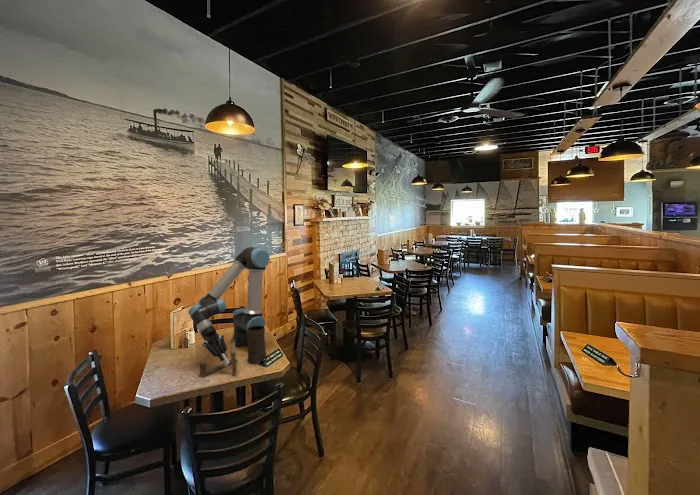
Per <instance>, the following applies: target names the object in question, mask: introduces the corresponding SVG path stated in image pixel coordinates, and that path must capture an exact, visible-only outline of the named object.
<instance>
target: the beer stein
mask: <svg viewBox="0 0 700 495" xmlns="http://www.w3.org/2000/svg"><path fill="white" fill-rule="evenodd" d="M265 331H266V329H265V326H264V327H263V326H252V327H249V328H248V330H247V333H248V346H247V362H248V363H249V364H253V365H255V364H256V365H257V364H261V363H260V362H261V361H262V360H263V359H265V358H266V359H267V352H266V341H265Z"/></svg>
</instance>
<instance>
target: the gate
mask: <svg viewBox="0 0 700 495" xmlns="http://www.w3.org/2000/svg"><path fill="white" fill-rule="evenodd" d="M236 354H237V353H236V346H235V342H231V341H230V356H231V355H232V364H231V374H237V362H236V360H237V358H236V356H237V355H236Z"/></svg>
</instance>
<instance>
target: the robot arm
mask: <svg viewBox="0 0 700 495" xmlns="http://www.w3.org/2000/svg"><path fill="white" fill-rule="evenodd" d="M270 261H271V259H270V254H269V253H268V252H267V251H266V250H265V249H264V248H262V247H261V248H260V247H253V246H252V247H250V246H249V247H246V248H244V249H243V250H241V252H240V253H239V254H238V255H237V256H236V257H235V258H234V259H233V263H232V264H231V265H230V266H229V267H228V268H227V270H226V271H225V272H224V274H223V275H222V276H221V277H220V278H219V279H218V280H217V282H216V283H215V284H214V285H213V287H212V288H211V289H210V290H209V292H207V294H206V295H205V296H202V297H200V298H199V300H198V303H197V304H194V305H193V306H191V307H190V308H188V311H187V313H188V315H189V316H190V317H189V318H190V319H191V320H192V321H193V324H194V325H195V326H196V330H198V332H199V333H200V335H201V338H203V340H204V342H203V343H202V347H204V348H205V349H207V351H208V352H209V353H210V354H211V355H212V356H213V357H214V358H218V359H219V360H220V361H221V362H222V364H223V363H224V365H225V366H227V367H229V366H230V365H229V364H230V362H229V356H228V355H227V353H226V352H227V351H228V347H227V345H226V342H225V340H224V339H225V338H224V337H225V336H224V334H223V335H219V334H218V332H217V330H216V328H215V327H214V326H213V323H212V322H211V319H210V318H212V317H214V316H216V315H219V314H220V313H222V312H224V311H225V310H226V309H227V305H226V301H225V300H223V299H222V298H221V297H222V296H223V295H224V294H225V292H227V290H228V289H229V287H230V286H231V285H232V283H234V282H235V280H236V279H237V278H238V277H239V276H240V275H241V273H242V272H243V271H244V270H247V271H248V281H247V282H248V283H247V294H246V295H247V298H246V307H244V308H243V307H242V308H238V309H235V310H233V313H232V320H233V321H232V323H233V334H232V336H231V337H232V338H231V340H235V348H236V347H237V348H238V347H239V348H240V347H241V348H242V347H244V348H245V347H248V333H247V330H248V328H249V327H252V326H263V327H264V328H265V326H266V321H265V319H264V317H263V311H262V309H261V305H262V293H263V292H262V291H263V289H262V288H263V280H264V279H263V278H264V277H263V276H264V272H265V271H266V269H267V266H268V265H269V264H270ZM228 365H229V366H228Z"/></svg>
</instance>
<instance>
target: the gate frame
mask: <svg viewBox="0 0 700 495" xmlns="http://www.w3.org/2000/svg"><path fill="white" fill-rule="evenodd" d="M231 342H235V340H232V339H230V343H231ZM228 360H229V359H228ZM229 362H230V364H229V365H228V366H225V365H224V363H223V362H222V363H220V364H219V365H216V366H214V367H213V368H212V367H211V368H210V369H207V364H206V362H203V361H201V362H199V373H198V377H199V378H205V377H207V376H209V375H212V374H214V373H216V372H219V371H221V370H222V369H225V368H227V367H229V366H232V355H231V354H230V360H229ZM237 362H239V360H238V359H236V363H237Z"/></svg>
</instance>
